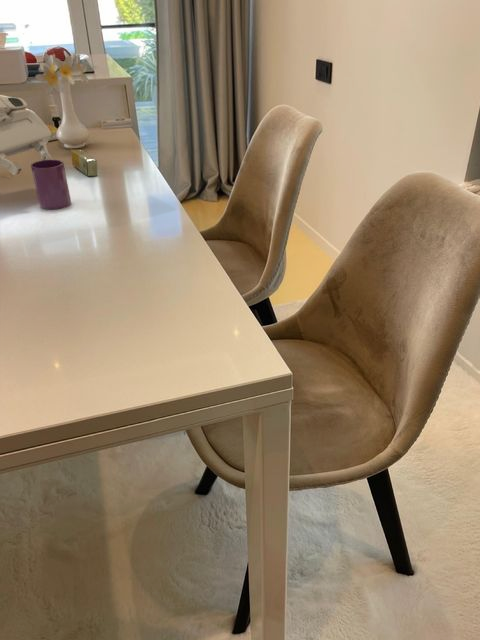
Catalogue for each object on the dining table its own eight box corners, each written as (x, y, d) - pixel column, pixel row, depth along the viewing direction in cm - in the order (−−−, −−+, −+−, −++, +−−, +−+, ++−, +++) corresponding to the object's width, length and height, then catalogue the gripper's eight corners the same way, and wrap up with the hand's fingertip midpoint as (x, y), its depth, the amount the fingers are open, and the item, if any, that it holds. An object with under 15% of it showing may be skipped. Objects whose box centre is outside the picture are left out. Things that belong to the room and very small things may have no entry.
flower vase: (47, 155, 159) (26, 57, 145) (59, 139, 175) (41, 49, 160) (93, 154, 161) (77, 56, 147) (101, 138, 176) (88, 48, 162)
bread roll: (50, 134, 181) (47, 121, 178) (66, 138, 176) (63, 125, 174) (26, 138, 175) (23, 125, 173) (42, 143, 171) (39, 129, 168)
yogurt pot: (46, 211, 122) (37, 170, 117) (35, 203, 126) (26, 163, 121) (76, 205, 126) (68, 164, 121) (64, 197, 130) (56, 157, 125)
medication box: (98, 176, 144) (97, 160, 142) (88, 176, 142) (86, 160, 140) (81, 164, 152) (80, 148, 150) (71, 164, 150) (70, 149, 148)
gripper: (-48, 114, 110) (2, 170, 112) (28, 97, 126) (71, 146, 128) (-57, 135, 114) (-8, 189, 116) (18, 116, 130) (59, 164, 132)
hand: (34, 166), depth 122 cm, fingers open, 8 cm apart
